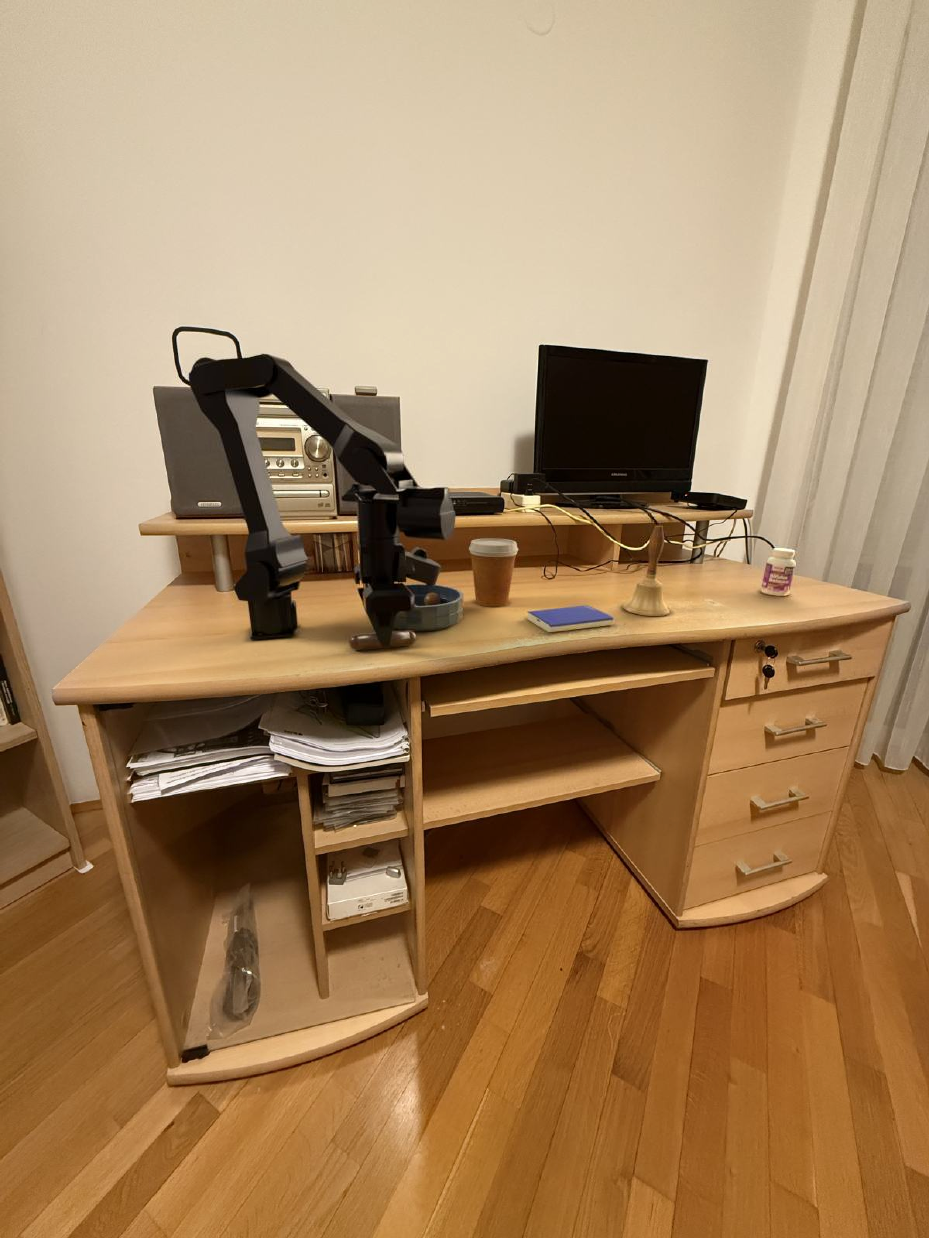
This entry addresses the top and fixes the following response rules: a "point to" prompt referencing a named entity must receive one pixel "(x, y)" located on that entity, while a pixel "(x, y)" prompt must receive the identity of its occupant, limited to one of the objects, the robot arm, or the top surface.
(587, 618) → the hard drive
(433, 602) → the glossy brown ball
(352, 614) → the top surface
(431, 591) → the bowl
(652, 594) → the hand bell
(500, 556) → the disposable coffee cup
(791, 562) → the pill bottle
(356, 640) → the stick
